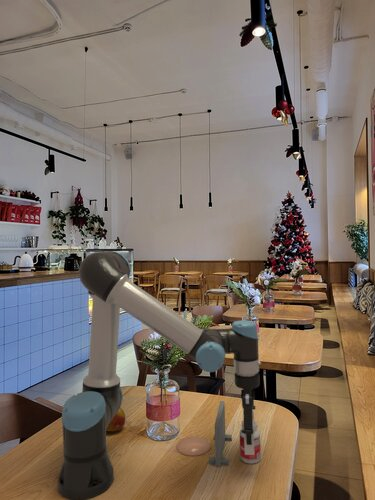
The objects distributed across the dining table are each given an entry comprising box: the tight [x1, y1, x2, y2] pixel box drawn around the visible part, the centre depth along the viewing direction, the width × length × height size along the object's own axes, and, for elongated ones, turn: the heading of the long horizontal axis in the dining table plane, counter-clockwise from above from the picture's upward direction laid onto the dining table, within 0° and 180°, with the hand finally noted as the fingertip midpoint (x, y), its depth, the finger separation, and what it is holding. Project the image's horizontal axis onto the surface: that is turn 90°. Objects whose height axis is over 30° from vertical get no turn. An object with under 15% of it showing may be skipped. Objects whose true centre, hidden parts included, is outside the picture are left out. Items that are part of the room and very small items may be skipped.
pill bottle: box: [239, 419, 262, 464], centre depth 115 cm, size 6×6×11 cm
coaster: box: [176, 435, 212, 457], centre depth 123 cm, size 11×11×1 cm
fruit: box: [106, 407, 126, 432], centre depth 137 cm, size 10×9×8 cm
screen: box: [208, 400, 233, 468], centre depth 121 cm, size 18×6×12 cm, turn 170°
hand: (249, 441), depth 115 cm, fingers open, 13 cm apart
